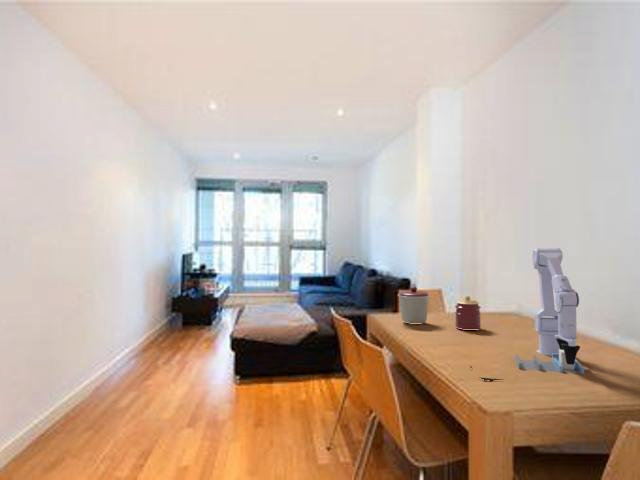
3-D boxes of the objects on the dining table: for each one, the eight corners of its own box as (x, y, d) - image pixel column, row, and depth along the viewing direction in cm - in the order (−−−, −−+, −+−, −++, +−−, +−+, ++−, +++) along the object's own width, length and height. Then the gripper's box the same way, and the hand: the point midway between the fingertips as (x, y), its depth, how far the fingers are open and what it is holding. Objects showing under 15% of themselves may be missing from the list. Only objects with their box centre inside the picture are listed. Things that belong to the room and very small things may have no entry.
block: (559, 365, 156) (558, 349, 156) (571, 366, 154) (571, 350, 154) (561, 368, 152) (561, 352, 152) (574, 369, 150) (573, 353, 150)
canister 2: (484, 331, 217) (484, 297, 217) (459, 331, 217) (459, 297, 217) (475, 326, 230) (475, 294, 230) (452, 326, 230) (451, 294, 230)
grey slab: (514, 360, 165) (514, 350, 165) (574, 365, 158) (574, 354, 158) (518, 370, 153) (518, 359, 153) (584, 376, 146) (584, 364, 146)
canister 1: (391, 322, 244) (391, 286, 244) (417, 319, 251) (416, 284, 251) (411, 328, 227) (410, 289, 227) (437, 324, 235) (436, 287, 235)
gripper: (550, 319, 161) (551, 354, 161) (559, 327, 147) (559, 366, 147) (571, 320, 159) (572, 356, 159) (582, 328, 145) (582, 367, 145)
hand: (567, 361), depth 153 cm, fingers open, 7 cm apart
